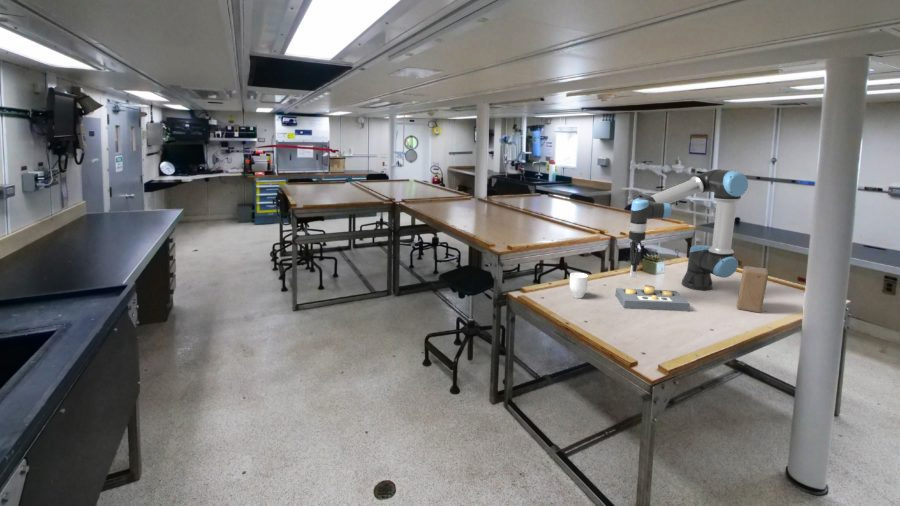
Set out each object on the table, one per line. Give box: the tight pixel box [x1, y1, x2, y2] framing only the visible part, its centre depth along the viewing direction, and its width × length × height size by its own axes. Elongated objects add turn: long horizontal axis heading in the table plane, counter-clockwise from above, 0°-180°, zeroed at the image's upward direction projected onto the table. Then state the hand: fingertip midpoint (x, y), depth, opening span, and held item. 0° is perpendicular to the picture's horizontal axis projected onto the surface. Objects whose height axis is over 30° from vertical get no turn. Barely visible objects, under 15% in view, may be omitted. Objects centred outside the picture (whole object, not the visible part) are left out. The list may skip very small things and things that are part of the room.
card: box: [637, 295, 672, 302], centre depth 227 cm, size 15×5×2 cm, turn 84°
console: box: [614, 287, 691, 312], centre depth 232 cm, size 30×18×4 cm, turn 84°
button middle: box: [643, 284, 656, 295], centre depth 235 cm, size 5×5×4 cm
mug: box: [569, 272, 589, 299], centre depth 240 cm, size 12×9×12 cm
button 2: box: [662, 289, 673, 296], centre depth 235 cm, size 5×5×4 cm
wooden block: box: [736, 265, 769, 314], centre depth 224 cm, size 10×10×20 cm
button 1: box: [625, 288, 636, 294], centre depth 237 cm, size 5×5×4 cm
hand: (633, 276), depth 234 cm, fingers closed
